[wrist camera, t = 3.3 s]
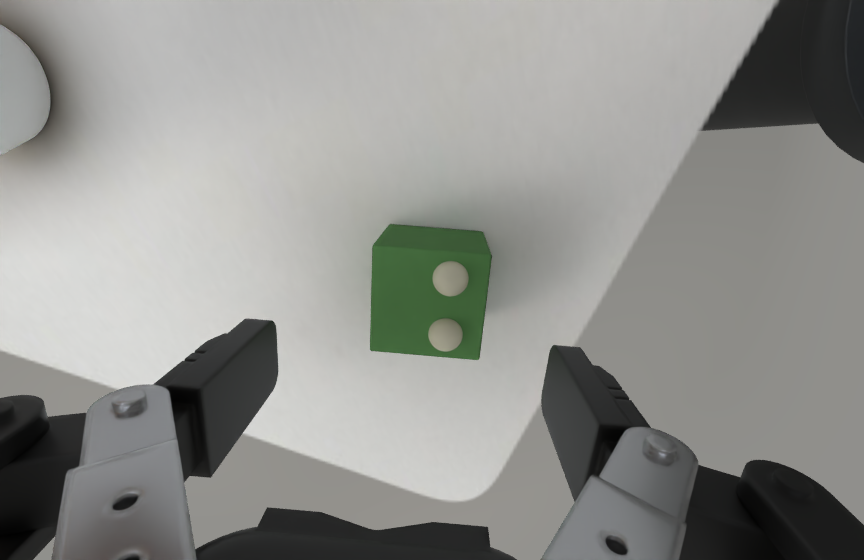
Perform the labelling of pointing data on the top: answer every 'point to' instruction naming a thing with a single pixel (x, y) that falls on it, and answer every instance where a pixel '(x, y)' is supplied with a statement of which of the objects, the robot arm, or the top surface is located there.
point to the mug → (20, 92)
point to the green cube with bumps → (429, 291)
